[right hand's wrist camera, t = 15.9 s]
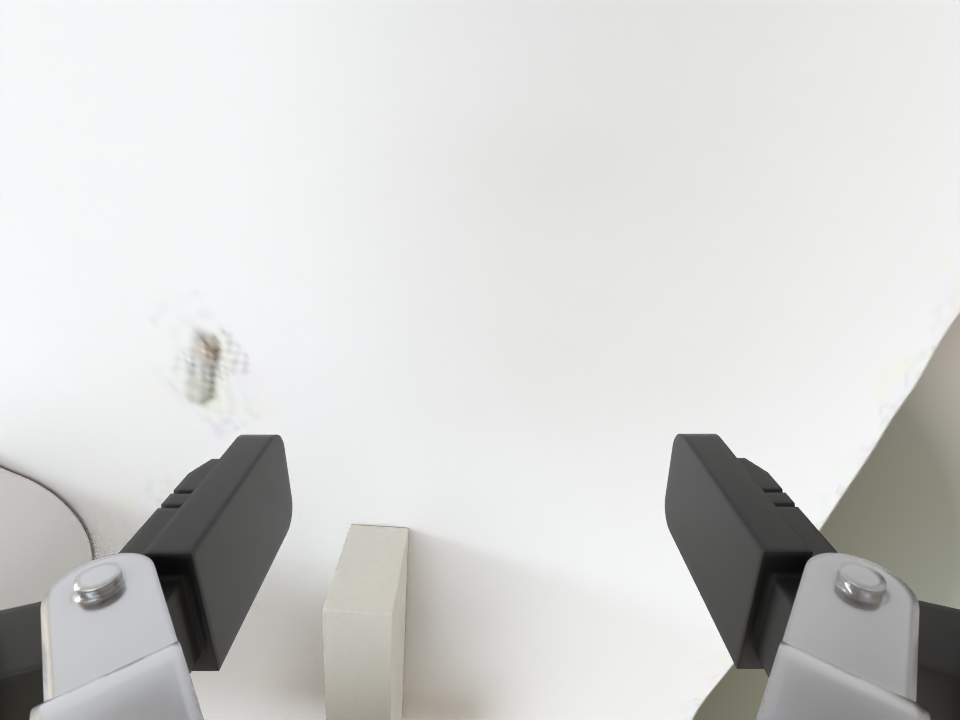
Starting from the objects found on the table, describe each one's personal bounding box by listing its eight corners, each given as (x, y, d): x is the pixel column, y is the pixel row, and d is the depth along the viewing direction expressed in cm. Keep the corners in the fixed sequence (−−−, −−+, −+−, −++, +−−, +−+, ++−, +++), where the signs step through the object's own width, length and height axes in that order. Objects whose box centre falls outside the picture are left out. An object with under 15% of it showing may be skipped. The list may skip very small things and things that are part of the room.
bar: (350, 524, 47) (321, 610, 38) (408, 527, 47) (392, 614, 38) (353, 716, 55) (329, 822, 47) (402, 719, 55) (387, 825, 47)
